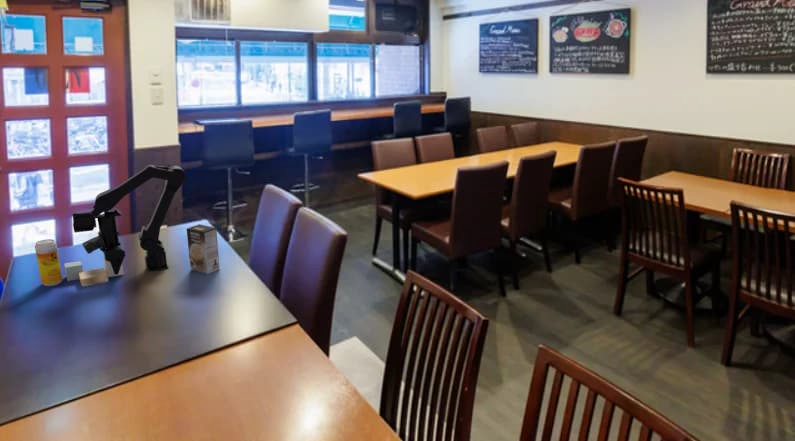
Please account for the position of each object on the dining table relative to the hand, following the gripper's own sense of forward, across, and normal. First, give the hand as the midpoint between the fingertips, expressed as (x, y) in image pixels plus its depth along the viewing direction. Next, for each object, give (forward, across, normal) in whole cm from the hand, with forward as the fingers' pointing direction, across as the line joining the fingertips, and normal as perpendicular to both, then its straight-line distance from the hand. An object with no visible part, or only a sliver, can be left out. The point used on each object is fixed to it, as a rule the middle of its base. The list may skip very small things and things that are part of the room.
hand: (114, 270), depth 193 cm
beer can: (+1, -2, -19) cm, 19 cm away
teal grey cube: (+1, -4, -12) cm, 13 cm away
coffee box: (+2, +14, +28) cm, 31 cm away
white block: (+1, 0, 0) cm, 1 cm away
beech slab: (+2, +3, -7) cm, 8 cm away
